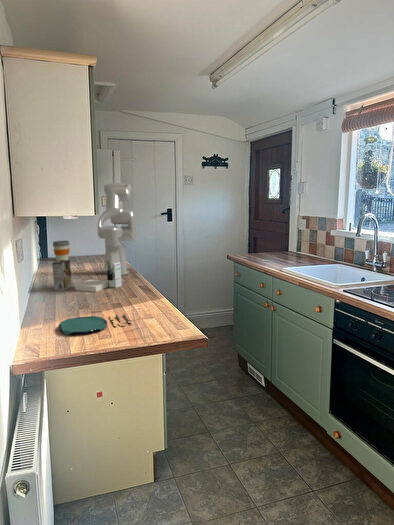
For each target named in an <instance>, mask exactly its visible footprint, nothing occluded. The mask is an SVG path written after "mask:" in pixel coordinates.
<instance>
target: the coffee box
mask: <svg viewBox="0 0 394 525" xmlns="http://www.w3.org/2000/svg"><path fill="white" fill-rule="evenodd" d="M51 267H52V276H53V287H54V288H53V289H54V291H63V290H64V291H66V290H68V289H70V288H72V287H73V285H72V284H73V283H72V273H71V272H72V271H71V262H70V259H68V260H59V261H57V260H56V261H54V262H52V266H51Z"/></svg>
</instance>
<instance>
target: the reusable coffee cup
mask: <svg viewBox="0 0 394 525" xmlns="http://www.w3.org/2000/svg"><path fill="white" fill-rule="evenodd" d="M52 246H53V253H54V255H55V259H56V262H57V261H59V260H69V255H70V241H69V240H55V241H53V242H52Z"/></svg>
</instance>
